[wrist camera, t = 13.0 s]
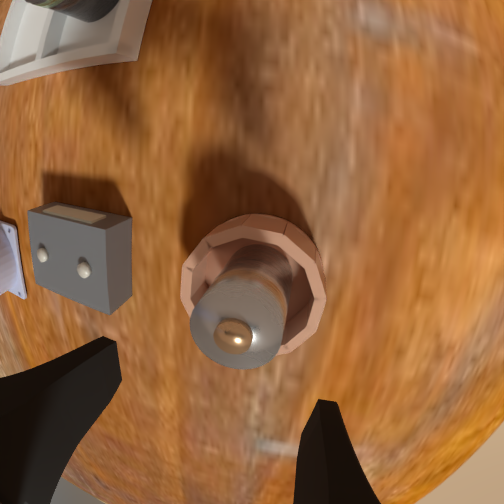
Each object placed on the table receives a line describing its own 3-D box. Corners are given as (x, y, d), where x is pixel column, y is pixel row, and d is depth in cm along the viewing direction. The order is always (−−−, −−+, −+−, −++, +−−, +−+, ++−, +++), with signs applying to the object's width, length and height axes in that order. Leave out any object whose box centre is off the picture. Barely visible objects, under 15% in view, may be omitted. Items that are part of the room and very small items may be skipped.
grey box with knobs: (59, 269, 22) (32, 285, 19) (54, 199, 20) (23, 209, 17) (132, 295, 21) (106, 318, 18) (132, 215, 19) (101, 229, 16)
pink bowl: (194, 313, 20) (178, 337, 18) (205, 201, 18) (185, 212, 15) (306, 340, 19) (304, 369, 17) (338, 229, 17) (342, 246, 14)
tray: (8, 85, 17) (-11, 85, 15) (35, -12, 13) (19, -17, 11) (137, 60, 15) (116, 53, 13) (173, -61, 11) (159, -76, 9)
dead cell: (224, 299, 19) (187, 363, 13) (228, 239, 18) (185, 287, 12) (288, 310, 18) (274, 382, 12) (297, 249, 17) (287, 306, 11)
